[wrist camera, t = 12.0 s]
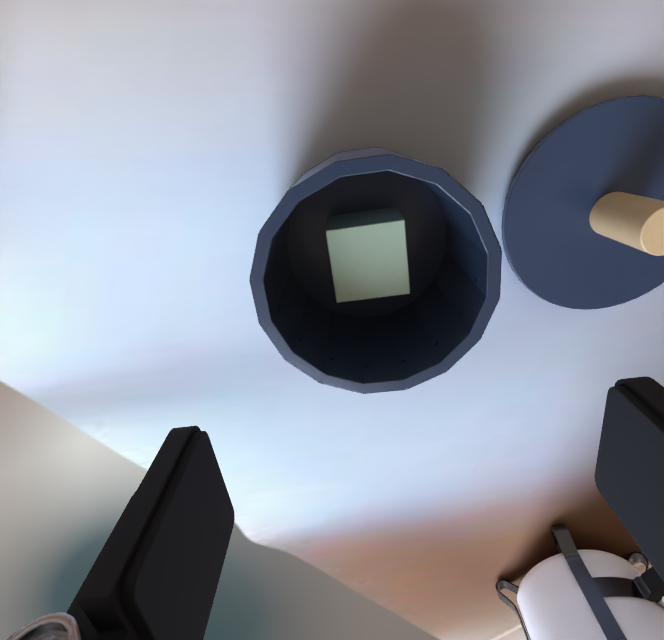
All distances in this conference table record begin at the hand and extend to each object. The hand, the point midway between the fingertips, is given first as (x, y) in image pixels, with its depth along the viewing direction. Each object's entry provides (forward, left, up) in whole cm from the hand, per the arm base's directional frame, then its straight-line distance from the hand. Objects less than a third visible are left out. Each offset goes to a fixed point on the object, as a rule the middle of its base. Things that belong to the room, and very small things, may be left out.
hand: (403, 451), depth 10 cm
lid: (-6, +15, -21) cm, 26 cm away
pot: (0, 0, -21) cm, 21 cm away
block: (0, 0, -21) cm, 21 cm away
